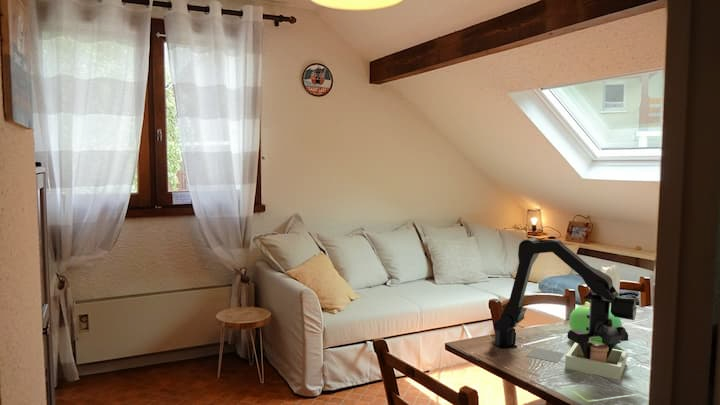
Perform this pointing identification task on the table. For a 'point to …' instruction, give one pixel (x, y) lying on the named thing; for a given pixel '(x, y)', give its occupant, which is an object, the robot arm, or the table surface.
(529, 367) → the table surface
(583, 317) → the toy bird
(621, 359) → the pale green square tray
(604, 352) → the terracotta pot
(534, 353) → the slate pad
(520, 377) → the table surface
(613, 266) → the decorative vase
